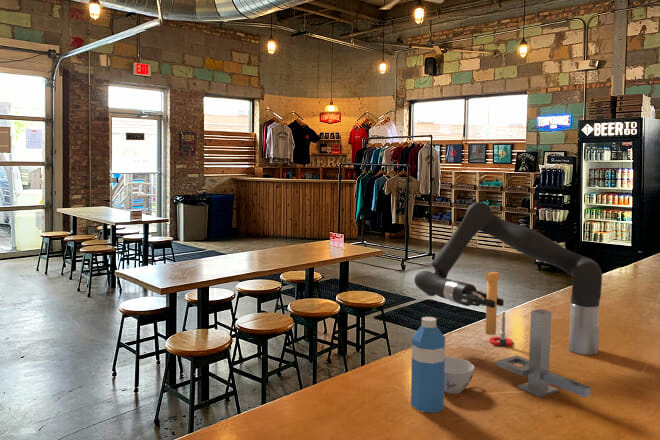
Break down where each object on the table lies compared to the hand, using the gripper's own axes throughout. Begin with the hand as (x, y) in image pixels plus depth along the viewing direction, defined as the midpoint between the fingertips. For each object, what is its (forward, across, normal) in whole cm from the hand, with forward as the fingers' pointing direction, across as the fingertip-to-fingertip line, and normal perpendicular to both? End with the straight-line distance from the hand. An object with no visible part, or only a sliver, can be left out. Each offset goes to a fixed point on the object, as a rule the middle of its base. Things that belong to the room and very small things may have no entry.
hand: (498, 303), depth 176 cm
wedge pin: (-3, 0, +10) cm, 11 cm away
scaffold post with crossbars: (+18, 0, +23) cm, 29 cm away
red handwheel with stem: (-19, +24, +23) cm, 39 cm away
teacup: (+2, -20, +23) cm, 31 cm away
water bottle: (+7, -35, +23) cm, 42 cm away
